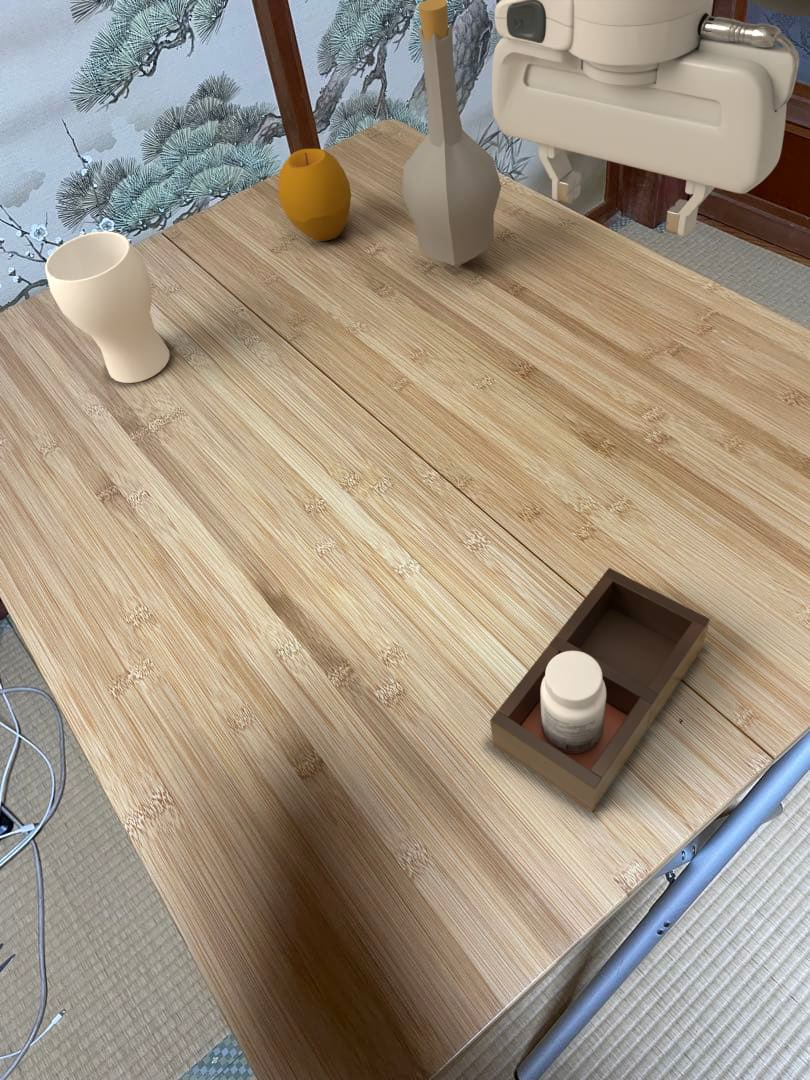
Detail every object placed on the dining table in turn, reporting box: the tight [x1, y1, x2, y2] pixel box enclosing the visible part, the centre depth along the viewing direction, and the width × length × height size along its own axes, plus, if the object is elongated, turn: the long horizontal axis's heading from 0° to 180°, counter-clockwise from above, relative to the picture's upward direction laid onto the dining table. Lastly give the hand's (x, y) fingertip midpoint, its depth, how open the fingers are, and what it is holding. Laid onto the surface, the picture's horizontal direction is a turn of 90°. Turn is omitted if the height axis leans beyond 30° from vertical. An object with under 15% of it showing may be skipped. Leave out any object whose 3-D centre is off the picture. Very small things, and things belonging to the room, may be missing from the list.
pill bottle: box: [541, 651, 606, 753], centre depth 62 cm, size 5×5×8 cm
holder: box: [489, 567, 711, 813], centre depth 66 cm, size 17×9×5 cm, turn 141°
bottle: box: [401, 0, 502, 269], centre depth 95 cm, size 11×11×30 cm
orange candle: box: [277, 148, 352, 242], centre depth 111 cm, size 10×10×12 cm
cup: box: [44, 231, 171, 384], centre depth 97 cm, size 11×11×15 cm
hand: (621, 214), depth 62 cm, fingers open, 8 cm apart
